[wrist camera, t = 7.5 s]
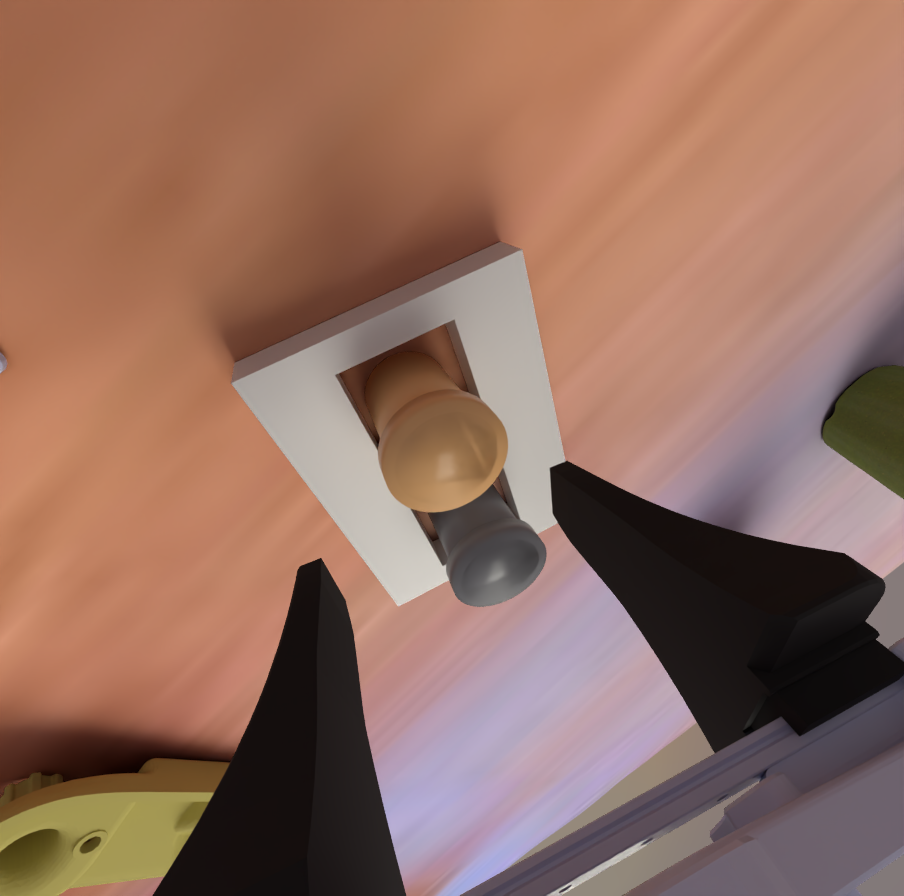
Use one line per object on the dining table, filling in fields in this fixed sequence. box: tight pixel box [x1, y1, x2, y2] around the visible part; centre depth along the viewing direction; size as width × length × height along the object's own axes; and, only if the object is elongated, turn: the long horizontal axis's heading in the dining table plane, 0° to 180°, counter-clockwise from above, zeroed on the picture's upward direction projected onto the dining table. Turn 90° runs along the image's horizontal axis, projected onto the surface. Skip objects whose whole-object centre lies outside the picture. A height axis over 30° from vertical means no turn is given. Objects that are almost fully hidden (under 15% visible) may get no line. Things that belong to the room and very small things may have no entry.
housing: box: [231, 241, 565, 606], centre depth 22 cm, size 16×12×2 cm
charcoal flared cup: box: [428, 484, 546, 607], centre depth 23 cm, size 5×5×6 cm
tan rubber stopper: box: [365, 352, 508, 512], centre depth 18 cm, size 5×5×6 cm
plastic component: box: [0, 758, 230, 896], centre depth 28 cm, size 20×7×10 cm
